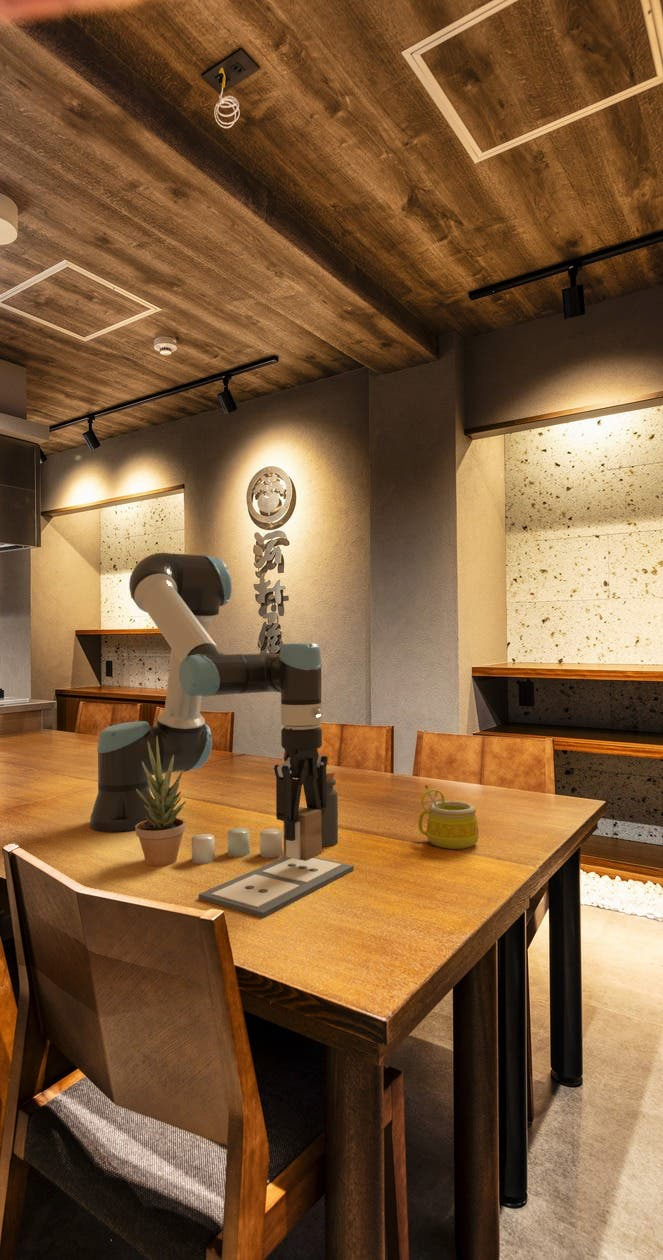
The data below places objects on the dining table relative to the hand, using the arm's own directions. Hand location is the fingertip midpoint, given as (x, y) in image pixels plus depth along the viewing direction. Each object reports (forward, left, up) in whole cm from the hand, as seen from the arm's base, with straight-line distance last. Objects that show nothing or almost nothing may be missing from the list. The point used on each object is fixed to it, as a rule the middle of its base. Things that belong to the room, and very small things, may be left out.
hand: (302, 853), depth 125 cm
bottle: (-8, +18, -4) cm, 20 cm away
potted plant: (-27, -10, -4) cm, 29 cm away
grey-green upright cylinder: (-18, +3, -4) cm, 19 cm away
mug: (+14, +32, -4) cm, 35 cm away
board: (0, -6, -4) cm, 8 cm away
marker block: (0, 0, 0) cm, 0 cm away
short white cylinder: (-12, +6, -4) cm, 14 cm away
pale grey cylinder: (-21, -4, -4) cm, 22 cm away
